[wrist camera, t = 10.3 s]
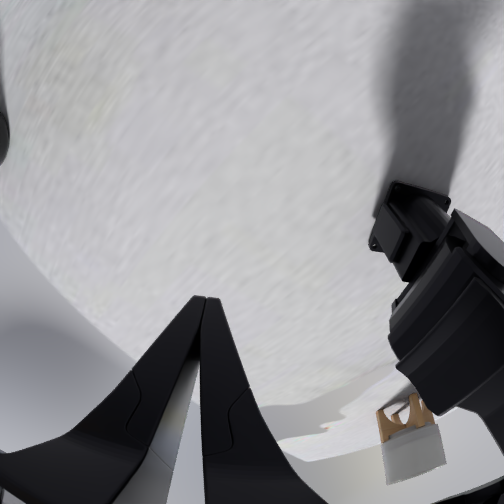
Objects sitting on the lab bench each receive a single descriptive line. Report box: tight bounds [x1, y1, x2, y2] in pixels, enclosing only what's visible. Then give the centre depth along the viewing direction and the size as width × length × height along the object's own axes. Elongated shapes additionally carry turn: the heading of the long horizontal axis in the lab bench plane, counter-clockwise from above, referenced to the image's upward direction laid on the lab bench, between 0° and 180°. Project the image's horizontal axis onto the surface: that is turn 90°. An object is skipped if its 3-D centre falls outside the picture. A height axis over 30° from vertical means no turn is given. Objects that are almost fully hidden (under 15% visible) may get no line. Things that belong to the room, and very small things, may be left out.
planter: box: [376, 393, 446, 485], centre depth 40 cm, size 13×13×18 cm
